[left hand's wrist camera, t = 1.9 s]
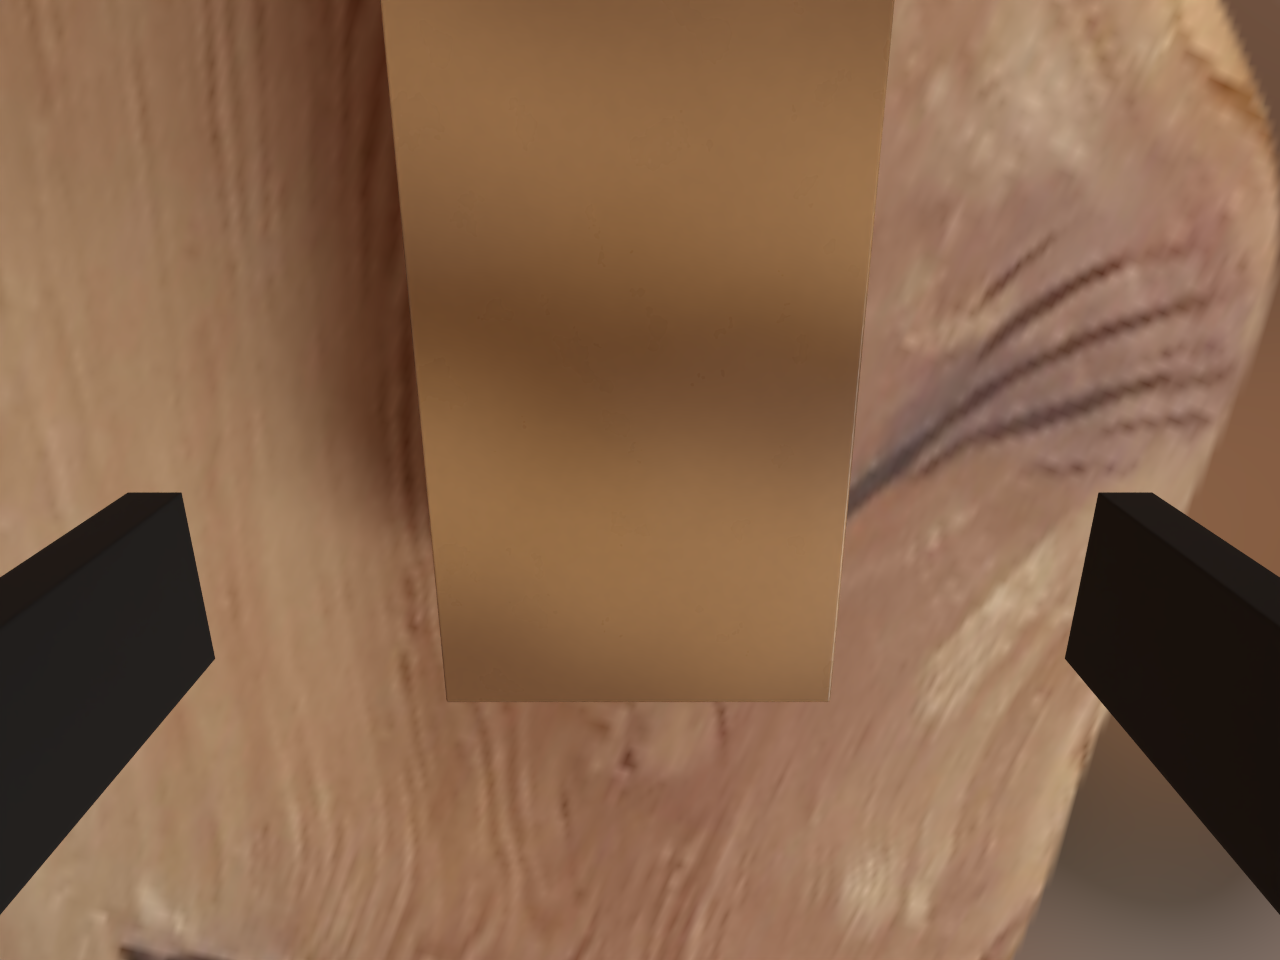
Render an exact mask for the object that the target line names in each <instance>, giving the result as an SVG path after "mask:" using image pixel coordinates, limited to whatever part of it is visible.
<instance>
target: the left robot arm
mask: <svg viewBox="0 0 1280 960" xmlns="http://www.w3.org/2000/svg"><path fill="white" fill-rule="evenodd" d="M214 659H215V656H214V651H213V646H212V641H211V636H210V631H209V626H208V621H207V616H206V611H205V606H204V601H203V597H202V592H201V587H200V582H199V577H198V572H197V567H196V562H195V557H194V552H193V547H192V542H191V537H190V532H189V527H188V523H187V518H186V513H185V508H184V503H183V498H182V493H127V494H125V495H124V496H122V497H121V498H119V499H118V500H116V501H115V502H113V503H112V504H110V505H109V506H107V507H106V508H104V509H103V510H101V511H100V512H98V513H97V514H95V515H94V516H92V517H91V518H89V519H87V520H86V521H84V522H83V523H81V524H80V525H78V526H77V527H75V528H74V529H72V530H71V531H69V532H68V533H66V534H65V535H63V536H62V537H60V538H59V539H57V540H56V541H54V542H53V543H51V544H50V545H48V546H47V547H45V548H44V549H42V550H41V551H39V552H38V553H36V554H35V555H33V556H32V557H30V558H29V559H27V560H26V561H24V562H23V563H21V564H20V565H18V566H17V567H15V568H14V569H12V570H11V571H9V572H8V573H6V574H5V575H3V576H2V577H0V914H1V913H2V912H3V911H4V910H5V908H6V907H7V906H8V905H9V904H10V902H11V901H12V900H13V899H14V898H15V896H16V895H17V894H18V893H19V892H20V890H21V889H22V888H23V887H24V886H25V885H26V883H27V882H28V881H29V880H30V879H31V877H32V876H33V875H34V874H35V873H36V871H37V870H38V869H39V868H40V867H41V865H42V864H43V863H44V862H45V861H46V860H47V858H48V857H49V856H50V855H51V854H52V852H53V851H54V850H55V849H56V848H57V846H58V845H59V844H60V843H61V842H62V840H63V839H64V838H65V837H66V836H67V834H68V833H69V832H70V831H71V830H72V829H73V827H74V826H75V825H76V824H77V823H78V821H79V820H80V819H81V818H82V817H83V815H84V814H85V813H86V812H87V811H88V809H89V808H90V807H91V806H92V805H93V803H94V802H95V801H96V800H97V799H98V798H99V796H100V795H101V794H102V793H103V792H104V790H105V789H106V788H107V787H108V786H109V784H110V783H111V782H112V781H113V780H114V778H115V777H116V776H117V775H118V774H119V773H120V771H121V770H122V769H123V768H124V767H125V765H126V764H127V763H128V762H129V761H130V759H131V758H132V757H133V756H134V755H135V753H136V752H137V751H138V750H139V749H140V747H141V746H142V745H143V744H144V743H145V742H146V740H147V739H148V738H149V737H150V736H151V734H152V733H153V732H154V731H155V730H156V728H157V727H158V726H159V725H160V724H161V722H162V721H163V720H164V719H165V718H166V716H167V715H168V714H169V713H170V712H171V711H172V709H173V708H174V707H175V706H176V705H177V703H178V702H179V701H180V700H181V699H182V697H183V696H184V695H185V694H186V693H187V691H188V690H189V689H190V688H191V687H192V686H193V684H194V683H195V682H196V681H197V680H198V678H199V677H200V676H201V675H202V674H203V672H204V671H205V670H206V669H207V668H208V666H209V665H210V664H211V663H212V662H213V660H214ZM1065 659H1066V660H1067V662H1068V663H1069V664H1070V665H1071V666H1072V668H1073V669H1074V670H1075V671H1076V672H1077V674H1078V675H1079V676H1080V677H1081V678H1082V680H1083V681H1084V682H1085V683H1086V684H1087V686H1088V687H1089V688H1090V689H1091V690H1092V691H1093V693H1094V694H1095V695H1096V696H1097V697H1098V699H1099V700H1100V701H1101V702H1102V703H1103V705H1104V706H1105V707H1106V708H1107V709H1108V711H1109V712H1110V713H1111V714H1112V715H1113V716H1114V718H1115V719H1116V720H1117V721H1118V722H1119V724H1120V725H1121V726H1122V727H1123V728H1124V730H1125V731H1126V732H1127V733H1128V734H1129V736H1130V737H1131V738H1132V739H1133V740H1134V742H1135V743H1136V744H1137V745H1138V746H1139V747H1140V749H1141V750H1142V751H1143V752H1144V753H1145V755H1146V756H1147V757H1148V758H1149V759H1150V761H1151V762H1152V763H1153V764H1154V765H1155V767H1156V768H1157V769H1158V770H1159V771H1160V772H1161V774H1162V775H1163V776H1164V777H1165V778H1166V780H1167V781H1168V782H1169V783H1170V784H1171V786H1172V787H1173V788H1174V789H1175V790H1176V792H1177V793H1178V794H1179V795H1180V796H1181V798H1182V799H1183V800H1184V801H1185V802H1186V803H1187V805H1188V806H1189V807H1190V808H1191V809H1192V811H1193V812H1194V813H1195V814H1196V815H1197V817H1198V818H1199V819H1200V820H1201V821H1202V823H1203V824H1204V825H1205V826H1206V827H1207V829H1208V830H1209V831H1210V832H1211V833H1212V834H1213V836H1214V837H1215V838H1216V839H1217V840H1218V842H1219V843H1220V844H1221V845H1222V846H1223V848H1224V849H1225V850H1226V851H1227V852H1228V854H1229V855H1230V856H1231V857H1232V858H1233V859H1234V861H1235V862H1236V863H1237V864H1238V865H1239V867H1240V868H1241V869H1242V870H1243V871H1244V873H1245V874H1246V875H1247V876H1248V877H1249V879H1250V880H1251V881H1252V882H1253V883H1254V885H1255V886H1256V887H1257V888H1258V889H1259V890H1260V892H1261V893H1262V894H1263V895H1264V896H1265V898H1266V899H1267V900H1268V901H1269V902H1270V904H1271V905H1272V906H1273V907H1274V908H1275V910H1276V911H1277V912H1278V913H1279V914H1280V577H1278V576H1277V575H1275V574H1274V573H1272V572H1271V571H1269V570H1268V569H1266V568H1265V567H1263V566H1262V565H1260V564H1259V563H1257V562H1256V561H1254V560H1253V559H1251V558H1250V557H1248V556H1247V555H1245V554H1244V553H1242V552H1241V551H1239V550H1238V549H1236V548H1235V547H1233V546H1232V545H1230V544H1229V543H1227V542H1226V541H1224V540H1223V539H1221V538H1220V537H1218V536H1217V535H1215V534H1214V533H1212V532H1211V531H1209V530H1207V529H1206V528H1205V527H1203V526H1202V525H1200V524H1199V523H1197V522H1195V521H1194V520H1192V519H1191V518H1189V517H1188V516H1186V515H1185V514H1183V513H1182V512H1180V511H1179V510H1177V509H1176V508H1174V507H1173V506H1171V505H1170V504H1168V503H1167V502H1165V501H1164V500H1162V499H1161V498H1159V497H1158V496H1156V495H1155V494H1153V493H1098V498H1097V503H1096V508H1095V513H1094V518H1093V523H1092V527H1091V532H1090V537H1089V542H1088V547H1087V552H1086V557H1085V562H1084V567H1083V572H1082V577H1081V582H1080V587H1079V592H1078V596H1077V601H1076V606H1075V611H1074V616H1073V621H1072V626H1071V631H1070V636H1069V641H1068V646H1067V651H1066V656H1065Z"/></svg>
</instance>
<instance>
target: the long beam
mask: <svg viewBox="0 0 1280 960" xmlns="http://www.w3.org/2000/svg"><path fill="white" fill-rule="evenodd" d="M380 2H381V13H382V24H383V34H384V45H385V55H386V66H387V76H388V87H389V97H390V108H391V119H392V129H393V140H394V150H395V161H396V171H397V182H398V192H399V203H400V214H401V224H402V235H403V245H404V256H405V266H406V277H407V288H408V298H409V309H410V319H411V330H412V340H413V351H414V361H415V372H416V383H417V393H418V404H419V414H420V425H421V435H422V446H423V456H424V467H425V478H426V488H427V499H428V509H429V520H430V530H431V541H432V551H433V562H434V573H435V583H436V594H437V604H438V615H439V625H440V636H441V647H442V657H443V668H444V678H445V689H446V699H447V702H829V701H830V694H831V684H832V673H833V662H834V651H835V640H836V629H837V618H838V608H839V597H840V586H841V575H842V564H843V553H844V542H845V531H846V521H847V510H848V499H849V488H850V477H851V466H852V455H853V445H854V434H855V423H856V412H857V401H858V390H859V379H860V368H861V358H862V347H863V336H864V325H865V314H866V303H867V292H868V282H869V271H870V260H871V249H872V238H873V227H874V216H875V205H876V195H877V184H878V173H879V162H880V151H881V140H882V129H883V119H884V108H885V97H886V86H887V75H888V64H889V53H890V42H891V32H892V21H893V10H894V0H380Z"/></svg>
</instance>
